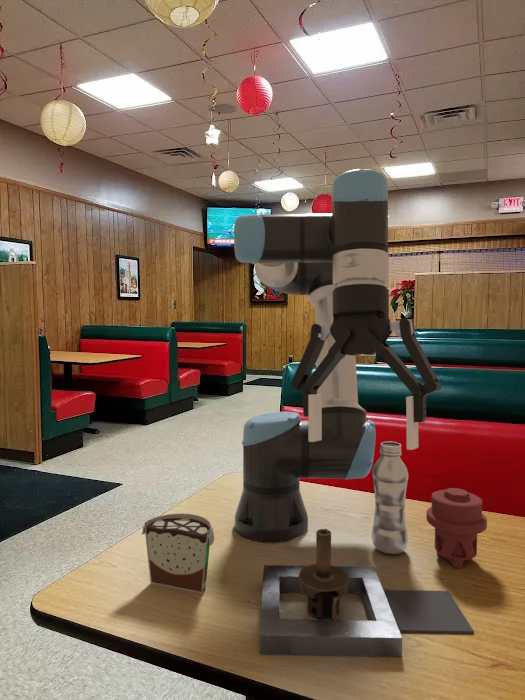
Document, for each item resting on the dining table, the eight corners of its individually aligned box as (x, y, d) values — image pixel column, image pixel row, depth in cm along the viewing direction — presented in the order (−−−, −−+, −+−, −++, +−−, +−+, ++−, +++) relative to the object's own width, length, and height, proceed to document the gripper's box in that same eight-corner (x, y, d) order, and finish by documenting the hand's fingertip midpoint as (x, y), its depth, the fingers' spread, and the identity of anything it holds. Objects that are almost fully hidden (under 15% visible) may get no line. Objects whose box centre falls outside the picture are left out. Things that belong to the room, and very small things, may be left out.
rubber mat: (384, 591, 77) (384, 589, 77) (448, 592, 77) (448, 590, 77) (399, 632, 67) (400, 629, 67) (473, 633, 67) (473, 631, 67)
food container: (226, 576, 82) (226, 517, 81) (211, 595, 76) (210, 532, 76) (162, 564, 86) (161, 508, 85) (142, 581, 80) (141, 522, 80)
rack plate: (263, 579, 81) (263, 565, 81) (373, 581, 80) (374, 566, 80) (260, 654, 63) (260, 635, 63) (401, 656, 62) (402, 638, 62)
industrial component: (297, 595, 76) (297, 520, 75) (344, 596, 76) (344, 520, 75) (300, 634, 67) (301, 548, 66) (354, 635, 67) (354, 549, 66)
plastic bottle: (388, 562, 87) (390, 450, 85) (363, 546, 93) (365, 442, 91) (415, 554, 90) (417, 446, 88) (390, 539, 96) (391, 438, 94)
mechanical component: (478, 549, 92) (492, 576, 82) (422, 544, 94) (429, 570, 84) (480, 484, 91) (494, 504, 81) (423, 480, 93) (431, 499, 83)
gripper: (267, 290, 70) (266, 440, 69) (450, 271, 57) (454, 456, 56) (292, 298, 77) (292, 435, 75) (462, 282, 63) (466, 448, 62)
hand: (361, 444), depth 66 cm, fingers open, 13 cm apart
